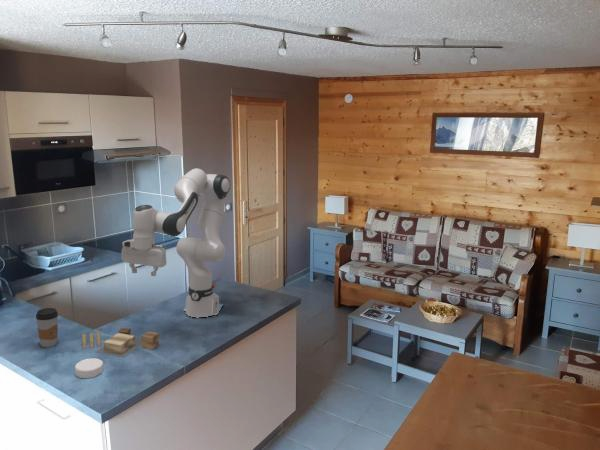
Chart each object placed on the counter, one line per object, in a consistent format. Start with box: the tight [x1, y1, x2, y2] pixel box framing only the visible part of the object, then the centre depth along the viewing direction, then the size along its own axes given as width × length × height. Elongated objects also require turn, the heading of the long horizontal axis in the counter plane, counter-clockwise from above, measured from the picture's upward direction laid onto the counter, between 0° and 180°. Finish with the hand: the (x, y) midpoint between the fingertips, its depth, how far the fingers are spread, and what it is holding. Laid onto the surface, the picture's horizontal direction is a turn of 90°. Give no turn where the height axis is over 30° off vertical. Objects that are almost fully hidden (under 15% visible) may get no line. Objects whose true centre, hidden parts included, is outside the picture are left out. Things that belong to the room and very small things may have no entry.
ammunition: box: [81, 331, 102, 350], centre depth 209 cm, size 5×7×8 cm
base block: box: [103, 333, 135, 355], centre depth 206 cm, size 10×8×4 cm
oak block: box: [141, 331, 160, 351], centre depth 209 cm, size 5×5×6 cm
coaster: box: [74, 357, 104, 379], centre depth 188 cm, size 10×10×4 cm
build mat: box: [94, 337, 142, 359], centre depth 209 cm, size 18×14×1 cm
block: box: [117, 327, 132, 335], centre depth 215 cm, size 4×4×4 cm
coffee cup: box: [35, 307, 59, 348], centre depth 207 cm, size 8×8×15 cm
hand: (144, 274), depth 211 cm, fingers open, 8 cm apart
